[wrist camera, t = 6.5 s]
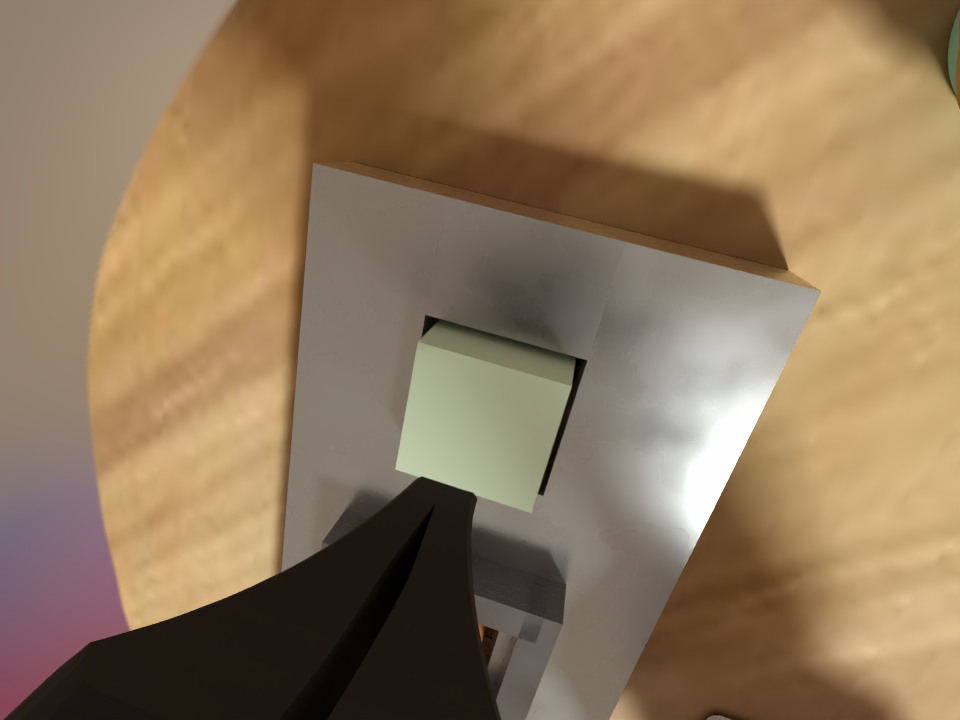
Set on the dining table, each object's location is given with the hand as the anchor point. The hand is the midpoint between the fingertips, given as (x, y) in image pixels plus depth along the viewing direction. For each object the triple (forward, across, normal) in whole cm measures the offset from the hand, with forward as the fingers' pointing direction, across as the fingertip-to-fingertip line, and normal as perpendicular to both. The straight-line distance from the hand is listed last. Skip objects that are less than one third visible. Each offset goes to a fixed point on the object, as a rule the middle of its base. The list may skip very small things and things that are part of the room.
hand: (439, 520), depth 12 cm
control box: (+8, 0, +5) cm, 9 cm away
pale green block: (+8, 0, 0) cm, 8 cm away
